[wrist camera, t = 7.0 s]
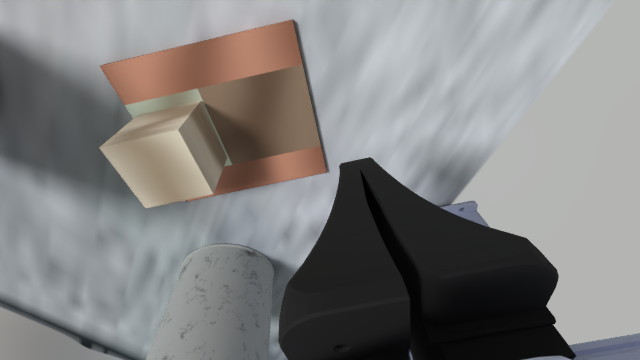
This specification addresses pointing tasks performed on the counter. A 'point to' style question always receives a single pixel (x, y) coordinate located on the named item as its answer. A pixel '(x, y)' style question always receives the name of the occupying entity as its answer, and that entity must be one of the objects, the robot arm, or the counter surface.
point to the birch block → (168, 155)
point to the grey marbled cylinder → (218, 307)
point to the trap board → (235, 101)
